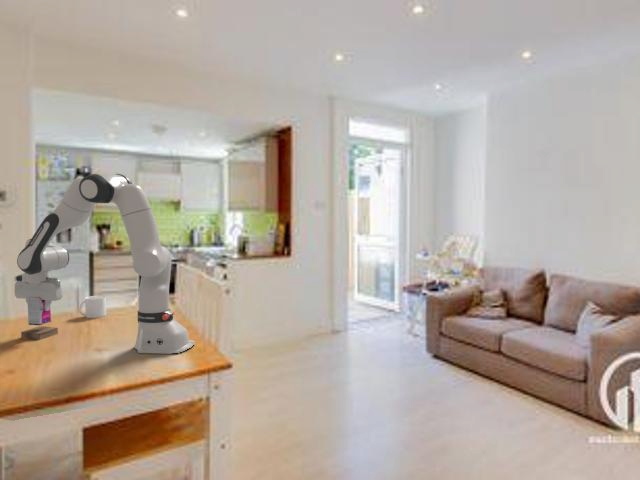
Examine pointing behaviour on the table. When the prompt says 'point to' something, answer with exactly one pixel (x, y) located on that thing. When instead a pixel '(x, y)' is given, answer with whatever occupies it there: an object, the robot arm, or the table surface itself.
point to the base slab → (39, 332)
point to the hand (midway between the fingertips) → (39, 309)
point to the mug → (94, 307)
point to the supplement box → (37, 311)
